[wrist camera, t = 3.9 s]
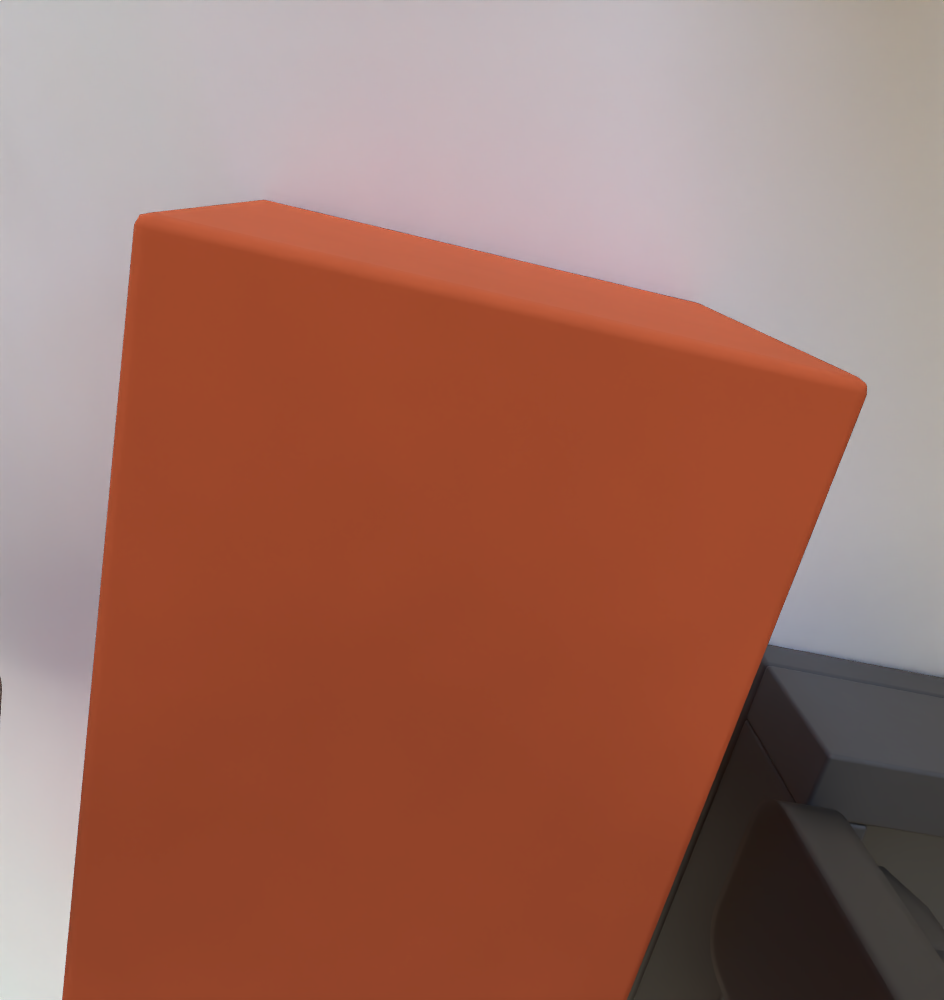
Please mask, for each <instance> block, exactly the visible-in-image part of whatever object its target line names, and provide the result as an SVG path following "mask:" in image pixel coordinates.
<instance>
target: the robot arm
mask: <svg viewBox="0 0 944 1000" xmlns="http://www.w3.org/2000/svg"><path fill="white" fill-rule="evenodd" d="M1 697H2V684H1V678H0V714H1ZM710 950H711V958H712V963H713V968H714V971H715V975H716V977H717V980H718V983H719V986H720V988H721V991H722V994H723V996H724V999H725V1000H944V929H943V927H942V926H941V925H940V923H939V922H938V920H937V919H936V918H935V916H934V915H933V913H932V912H931V911H930V909H929V908H928V907H927V906H926V905H925V904H924V903H923V902H922V901H921V900H920V899H918V898H917V897H916V896H915V895H914V894H913V893H912V892H911V891H910V890H909V889H907V888H906V887H905V886H904V885H903V884H902V883H901V882H900V881H899V880H898V879H897V878H895V877H894V876H893V875H892V874H891V873H890V872H889V871H888V870H887V869H886V868H884V867H883V866H878V865H877V863H876V862H875V860H874V859H873V857H872V856H871V855H870V853H869V852H868V850H867V849H866V847H865V846H864V844H863V843H862V841H861V840H860V838H859V837H858V835H857V834H856V832H855V831H854V829H853V828H852V826H851V825H850V823H849V822H848V820H847V819H846V818H845V817H844V816H843V815H842V814H841V813H840V812H839V811H837V810H834V809H829V808H823V807H817V806H811V805H805V804H799V803H793V802H787V801H781V800H774V799H765V800H763V801H761V802H760V803H759V804H758V805H757V806H756V808H755V809H754V811H753V813H752V815H751V817H750V820H749V822H748V825H747V827H746V830H745V832H744V835H743V837H742V840H741V842H740V845H739V847H738V850H737V852H736V855H735V857H734V860H733V862H732V865H731V867H730V870H729V872H728V875H727V877H726V880H725V882H724V885H723V887H722V890H721V892H720V894H719V897H718V899H717V902H716V905H715V908H714V911H713V915H712V920H711V928H710Z"/></svg>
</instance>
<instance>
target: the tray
mask: <svg viewBox="0 0 944 1000" xmlns="http://www.w3.org/2000/svg"><path fill="white" fill-rule="evenodd" d="M765 799H774V800H781V801H787V802H793V803H799V804H805V805H811V806H817V807H823V808H829V809H834V810H837V811H839V812H840V813H841V814H842V815H843V816H844V817H845V818H846V819H847V820H848V822H849V823H850V825H851V826H852V828H853V829H854V831H855V832H856V834H857V835H858V837H859V838H860V840H861V841H862V843H863V844H864V846H865V847H866V849H867V850H868V852H869V853H870V855H871V856H872V857H873V859H874V860H875V862H876V863H877V865H878V866H883V867H884V868H886V869H887V870H888V871H889V872H890V873H891V874H892V875H893V876H894V877H895V878H897V879H898V880H899V881H900V882H901V883H902V884H903V885H904V886H905V887H906V888H907V889H909V890H910V891H911V892H912V893H913V894H914V895H915V896H916V897H917V898H918V899H920V900H921V901H922V902H923V903H924V904H925V905H926V906H927V907H928V908H929V909H930V911H931V912H932V913H933V915H934V916H935V918H936V919H937V920H938V922H939V923H940V925H941V926H942V927H943V929H944V678H939V677H934V676H929V675H924V674H918V673H913V672H908V671H903V670H897V669H892V668H887V667H882V666H876V665H871V664H866V663H861V662H856V661H850V660H845V659H840V658H835V657H829V656H824V655H819V654H814V653H808V652H803V651H798V650H793V649H787V648H782V647H777V646H772V645H767V648H766V650H765V653H764V655H763V658H762V660H761V663H760V665H759V668H758V670H757V673H756V675H755V678H754V680H753V683H752V685H751V688H750V690H749V693H748V696H747V698H746V701H745V703H744V706H743V708H742V711H741V713H740V716H739V718H738V721H737V723H736V726H735V728H734V731H733V733H732V736H731V738H730V741H729V743H728V746H727V748H726V751H725V754H724V756H723V759H722V761H721V764H720V766H719V769H718V771H717V774H716V776H715V779H714V781H713V784H712V786H711V789H710V791H709V794H708V796H707V799H706V801H705V804H704V807H703V809H702V812H701V814H700V817H699V819H698V822H697V824H696V827H695V829H694V832H693V834H692V837H691V839H690V842H689V844H688V847H687V849H686V852H685V854H684V857H683V859H682V862H681V865H680V867H679V870H678V872H677V875H676V877H675V880H674V882H673V885H672V887H671V890H670V892H669V895H668V897H667V900H666V902H665V905H664V907H663V910H662V912H661V915H660V918H659V920H658V923H657V925H656V928H655V930H654V933H653V935H652V938H651V940H650V943H649V945H648V948H647V950H646V953H645V955H644V958H643V960H642V963H641V965H640V968H639V970H638V973H637V976H636V978H635V981H634V983H633V986H632V988H631V991H630V993H629V996H628V998H627V1000H725V999H724V996H723V994H722V991H721V988H720V986H719V983H718V980H717V977H716V975H715V971H714V968H713V963H712V958H711V950H710V928H711V920H712V915H713V911H714V908H715V905H716V902H717V899H718V897H719V894H720V892H721V890H722V887H723V885H724V882H725V880H726V877H727V875H728V872H729V870H730V867H731V865H732V862H733V860H734V857H735V855H736V852H737V850H738V847H739V845H740V842H741V840H742V837H743V835H744V832H745V830H746V827H747V825H748V822H749V820H750V817H751V815H752V813H753V811H754V809H755V808H756V806H757V805H758V804H759V803H760V802H761V801H763V800H765Z"/></svg>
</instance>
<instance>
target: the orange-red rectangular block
mask: <svg viewBox="0 0 944 1000" xmlns="http://www.w3.org/2000/svg"><path fill="white" fill-rule="evenodd" d="M866 395H867V385H866V383H865V382H863V381H862V380H861V379H860V378H858V377H856V376H854V375H852V374H850V373H848V372H846V371H843V370H841V369H839V368H837V367H835V366H833V365H830V364H828V363H826V362H824V361H822V360H820V359H818V358H815V357H813V356H811V355H809V354H807V353H805V352H802V351H800V350H798V349H796V348H794V347H792V346H789V345H787V344H785V343H783V342H781V341H779V340H777V339H774V338H772V337H770V336H768V335H766V334H764V333H761V332H759V331H757V330H755V329H753V328H751V327H748V326H746V325H744V324H742V323H740V322H738V321H736V320H733V319H731V318H729V317H727V316H725V315H723V314H720V313H718V312H716V311H714V310H712V309H710V308H707V307H705V306H703V305H701V304H699V303H695V302H691V301H686V300H682V299H678V298H674V297H670V296H665V295H661V294H657V293H653V292H649V291H645V290H640V289H636V288H632V287H628V286H624V285H619V284H615V283H611V282H607V281H603V280H598V279H594V278H590V277H586V276H582V275H577V274H573V273H569V272H565V271H561V270H556V269H552V268H548V267H544V266H540V265H535V264H531V263H527V262H523V261H519V260H515V259H510V258H506V257H502V256H498V255H494V254H489V253H485V252H481V251H477V250H473V249H468V248H464V247H460V246H456V245H452V244H447V243H443V242H439V241H435V240H431V239H426V238H422V237H418V236H414V235H410V234H405V233H401V232H397V231H393V230H389V229H385V228H380V227H376V226H372V225H368V224H364V223H359V222H355V221H351V220H347V219H343V218H338V217H334V216H330V215H326V214H322V213H317V212H313V211H309V210H305V209H301V208H296V207H292V206H288V205H284V204H280V203H275V202H271V201H267V200H258V201H249V202H241V203H232V204H223V205H214V206H205V207H196V208H187V209H179V210H170V211H161V212H152V213H146V214H141V215H139V217H138V219H137V221H136V222H135V224H134V232H133V243H132V254H131V264H130V275H129V286H128V297H127V307H126V318H125V329H124V340H123V351H122V361H121V372H120V383H119V394H118V404H117V415H116V426H115V437H114V448H113V458H112V469H111V480H110V491H109V501H108V512H107V523H106V534H105V544H104V555H103V566H102V577H101V588H100V598H99V609H98V620H97V631H96V641H95V652H94V663H93V674H92V685H91V695H90V706H89V717H88V728H87V738H86V749H85V760H84V771H83V782H82V792H81V803H80V814H79V825H78V835H77V846H76V857H75V868H74V879H73V889H72V900H71V911H70V922H69V932H68V943H67V954H66V965H65V976H64V986H63V997H62V1000H627V998H628V996H629V993H630V991H631V988H632V986H633V983H634V981H635V978H636V976H637V973H638V970H639V968H640V965H641V963H642V960H643V958H644V955H645V953H646V950H647V948H648V945H649V943H650V940H651V938H652V935H653V933H654V930H655V928H656V925H657V923H658V920H659V918H660V915H661V912H662V910H663V907H664V905H665V902H666V900H667V897H668V895H669V892H670V890H671V887H672V885H673V882H674V880H675V877H676V875H677V872H678V870H679V867H680V865H681V862H682V859H683V857H684V854H685V852H686V849H687V847H688V844H689V842H690V839H691V837H692V834H693V832H694V829H695V827H696V824H697V822H698V819H699V817H700V814H701V812H702V809H703V807H704V804H705V801H706V799H707V796H708V794H709V791H710V789H711V786H712V784H713V781H714V779H715V776H716V774H717V771H718V769H719V766H720V764H721V761H722V759H723V756H724V754H725V751H726V748H727V746H728V743H729V741H730V738H731V736H732V733H733V731H734V728H735V726H736V723H737V721H738V718H739V716H740V713H741V711H742V708H743V706H744V703H745V701H746V698H747V696H748V693H749V690H750V688H751V685H752V683H753V680H754V678H755V675H756V673H757V670H758V668H759V665H760V663H761V660H762V658H763V655H764V653H765V650H766V648H767V645H768V643H769V640H770V638H771V635H772V632H773V630H774V627H775V625H776V622H777V620H778V617H779V615H780V612H781V610H782V607H783V605H784V602H785V600H786V597H787V595H788V592H789V590H790V587H791V585H792V582H793V579H794V577H795V574H796V572H797V569H798V567H799V564H800V562H801V559H802V557H803V554H804V552H805V549H806V547H807V544H808V542H809V539H810V537H811V534H812V532H813V529H814V527H815V524H816V521H817V519H818V516H819V514H820V511H821V509H822V506H823V504H824V501H825V499H826V496H827V494H828V491H829V489H830V486H831V484H832V481H833V479H834V476H835V474H836V471H837V468H838V466H839V463H840V461H841V458H842V456H843V453H844V451H845V448H846V446H847V443H848V441H849V438H850V436H851V433H852V431H853V428H854V426H855V423H856V421H857V418H858V416H859V413H860V410H861V408H862V405H863V403H864V400H865V398H866Z"/></svg>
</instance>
